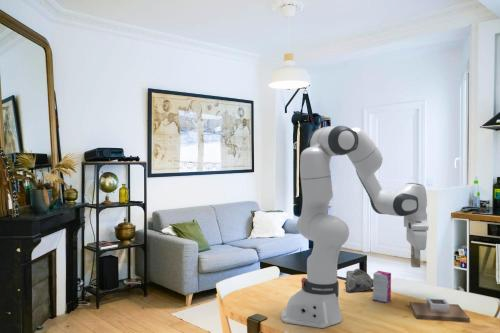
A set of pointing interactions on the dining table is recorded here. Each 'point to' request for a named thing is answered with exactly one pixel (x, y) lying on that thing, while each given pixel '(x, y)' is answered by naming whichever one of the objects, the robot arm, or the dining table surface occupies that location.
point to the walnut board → (424, 313)
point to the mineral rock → (358, 281)
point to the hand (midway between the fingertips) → (415, 256)
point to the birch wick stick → (414, 259)
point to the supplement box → (381, 286)
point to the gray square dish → (438, 305)
